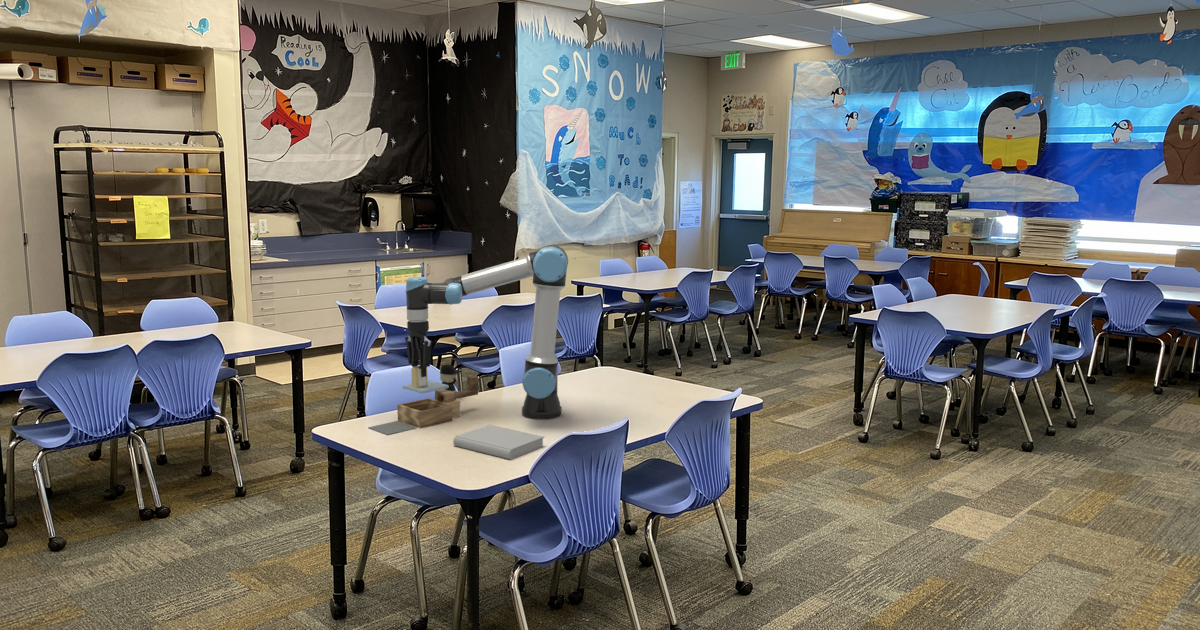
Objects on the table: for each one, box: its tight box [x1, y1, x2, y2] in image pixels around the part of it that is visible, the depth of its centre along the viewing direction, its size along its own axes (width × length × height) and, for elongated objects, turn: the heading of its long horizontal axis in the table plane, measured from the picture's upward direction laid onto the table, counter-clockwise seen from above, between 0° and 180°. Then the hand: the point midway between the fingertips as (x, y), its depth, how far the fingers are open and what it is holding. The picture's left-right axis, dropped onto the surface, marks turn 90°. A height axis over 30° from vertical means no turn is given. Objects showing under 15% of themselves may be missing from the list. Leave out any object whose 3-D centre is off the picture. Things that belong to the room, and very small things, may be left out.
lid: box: [402, 367, 449, 394], centre depth 311 cm, size 12×12×8 cm
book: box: [453, 424, 545, 461], centre depth 285 cm, size 18×4×24 cm
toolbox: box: [396, 389, 461, 429], centre depth 315 cm, size 14×20×10 cm
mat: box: [368, 420, 417, 436], centre depth 304 cm, size 12×12×1 cm
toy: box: [439, 364, 462, 392], centre depth 342 cm, size 8×9×15 cm
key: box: [442, 375, 479, 400], centre depth 324 cm, size 3×15×7 cm, turn 137°
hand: (419, 384), depth 310 cm, fingers closed on lid, 2 cm apart
